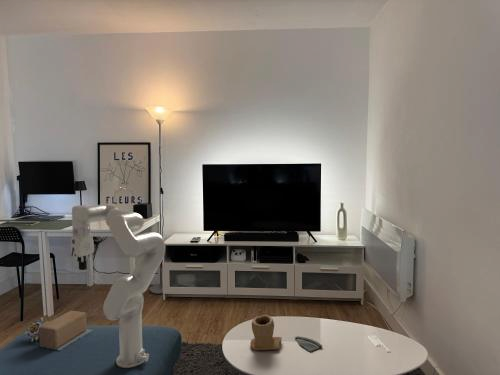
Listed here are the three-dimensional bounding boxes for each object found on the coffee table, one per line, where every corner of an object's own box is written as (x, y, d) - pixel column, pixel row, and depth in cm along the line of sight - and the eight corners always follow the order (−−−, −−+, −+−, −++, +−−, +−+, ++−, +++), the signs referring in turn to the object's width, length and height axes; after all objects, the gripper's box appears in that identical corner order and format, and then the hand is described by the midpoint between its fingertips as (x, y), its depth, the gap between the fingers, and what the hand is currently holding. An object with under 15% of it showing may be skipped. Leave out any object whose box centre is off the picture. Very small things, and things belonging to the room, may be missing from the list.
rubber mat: (93, 330, 178) (93, 330, 178) (59, 351, 158) (59, 349, 158) (75, 327, 182) (75, 326, 182) (40, 346, 162) (40, 345, 162)
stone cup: (250, 354, 154) (249, 322, 154) (250, 341, 166) (250, 311, 165) (283, 354, 154) (283, 322, 153) (281, 341, 166) (281, 311, 165)
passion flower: (33, 351, 168) (17, 333, 166) (49, 337, 178) (34, 320, 177) (48, 342, 165) (31, 323, 164) (63, 327, 175) (47, 310, 174)
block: (54, 329, 157) (86, 311, 177) (37, 326, 160) (71, 309, 179) (55, 350, 158) (87, 330, 177) (38, 347, 161) (71, 328, 180)
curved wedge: (304, 336, 171) (304, 333, 171) (323, 348, 160) (323, 345, 160) (291, 341, 167) (291, 337, 167) (309, 353, 155) (309, 350, 155)
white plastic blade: (380, 353, 155) (379, 351, 155) (365, 337, 170) (365, 335, 170) (390, 352, 156) (390, 350, 156) (375, 336, 171) (375, 334, 171)
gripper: (74, 234, 153) (76, 274, 154) (99, 229, 167) (100, 265, 168) (62, 234, 155) (63, 273, 156) (87, 228, 169) (88, 264, 170)
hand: (82, 269), depth 162 cm, fingers closed
